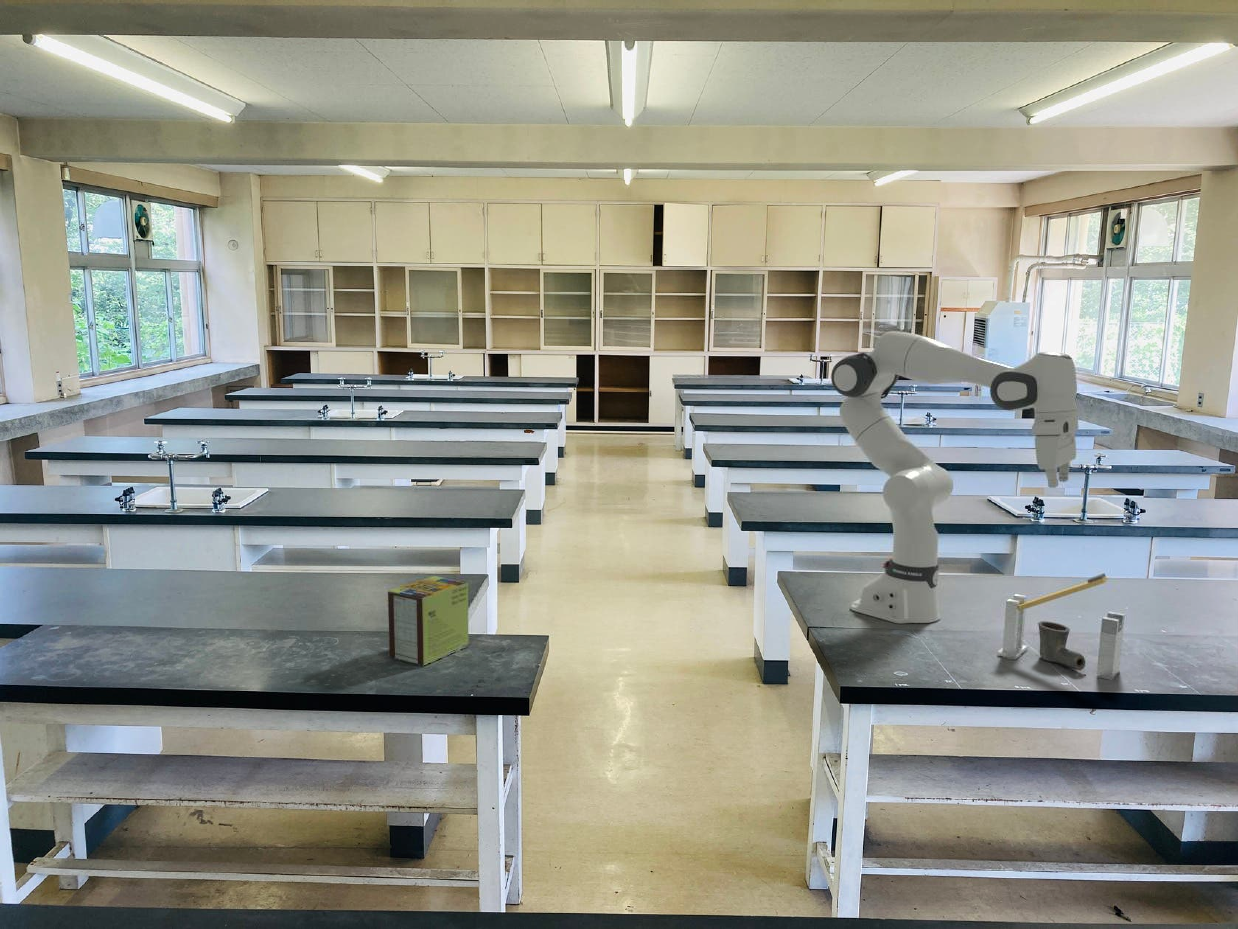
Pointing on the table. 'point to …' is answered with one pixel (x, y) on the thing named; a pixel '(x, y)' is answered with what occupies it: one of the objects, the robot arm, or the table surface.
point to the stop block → (1110, 645)
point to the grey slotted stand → (1014, 629)
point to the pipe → (1058, 646)
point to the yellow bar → (1065, 592)
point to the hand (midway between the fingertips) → (1058, 484)
